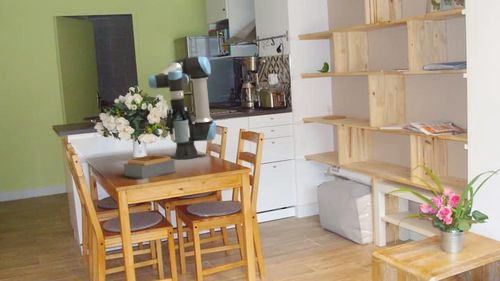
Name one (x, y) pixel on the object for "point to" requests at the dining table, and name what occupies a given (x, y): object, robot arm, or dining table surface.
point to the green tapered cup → (181, 131)
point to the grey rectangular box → (149, 166)
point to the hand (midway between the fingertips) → (180, 138)
